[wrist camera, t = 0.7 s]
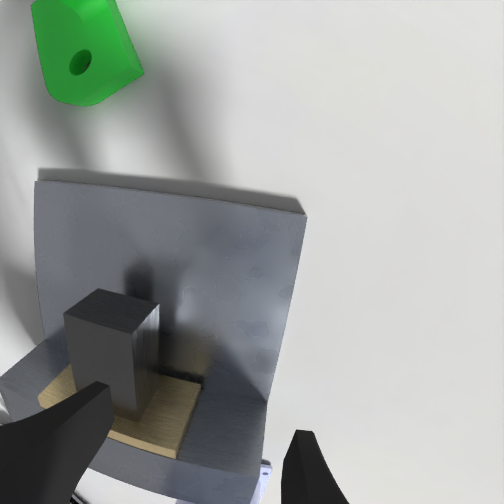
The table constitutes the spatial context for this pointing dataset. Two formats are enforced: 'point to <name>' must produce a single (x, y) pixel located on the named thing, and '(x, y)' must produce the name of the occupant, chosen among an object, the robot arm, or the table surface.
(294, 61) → the table surface
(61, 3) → the mechanical part
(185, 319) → the block
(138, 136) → the table surface
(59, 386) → the grey and tan block
